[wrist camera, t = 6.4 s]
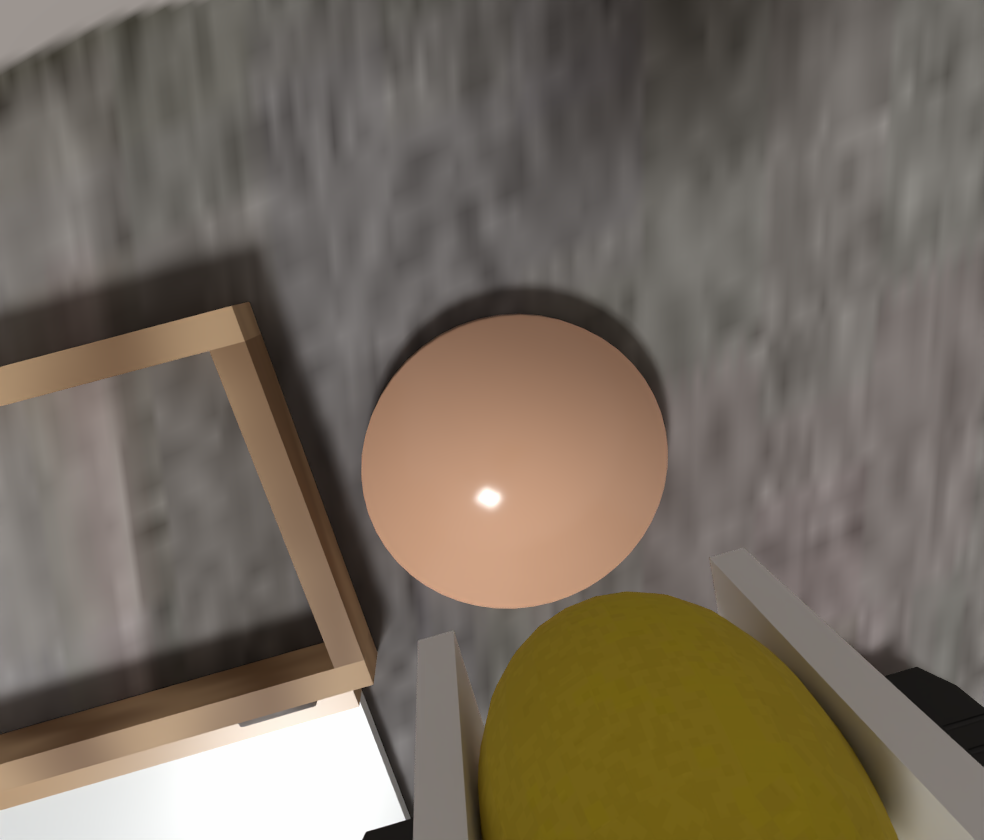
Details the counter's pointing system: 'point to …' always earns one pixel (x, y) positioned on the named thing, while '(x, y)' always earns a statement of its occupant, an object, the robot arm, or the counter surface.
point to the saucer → (514, 461)
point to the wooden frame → (302, 526)
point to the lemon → (663, 736)
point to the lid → (226, 785)
